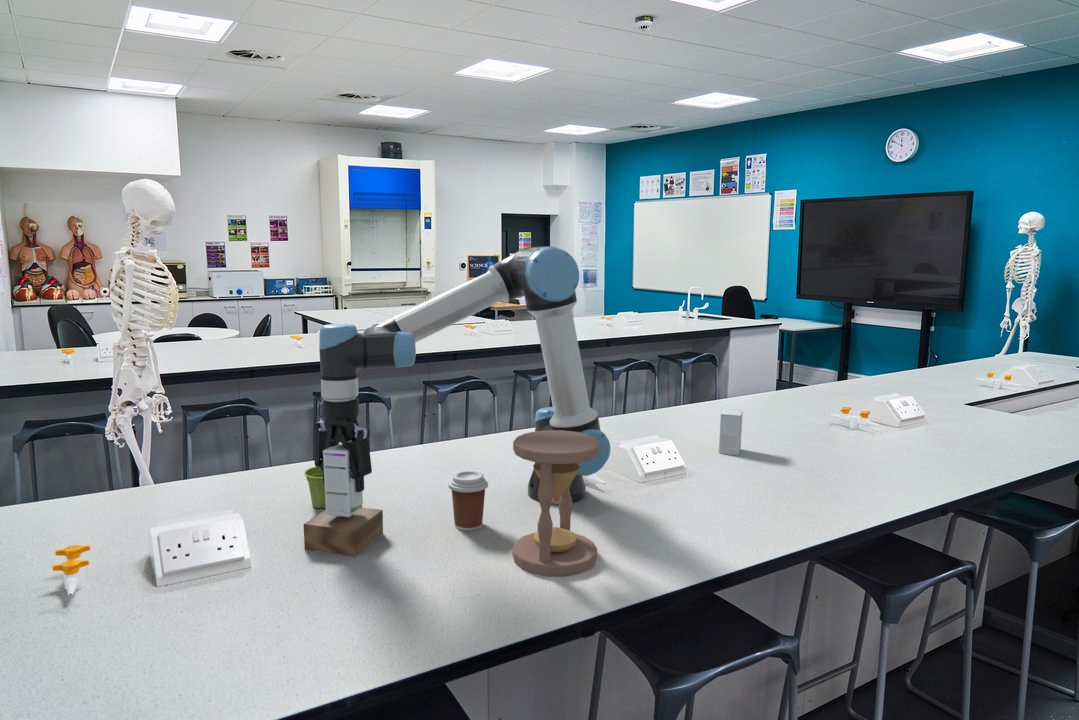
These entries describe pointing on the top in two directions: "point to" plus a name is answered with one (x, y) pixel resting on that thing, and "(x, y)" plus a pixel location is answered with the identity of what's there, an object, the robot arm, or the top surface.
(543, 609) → the top surface
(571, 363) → the robot arm
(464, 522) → the coffee cup
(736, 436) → the small box
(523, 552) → the hourglass
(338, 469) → the syrup box
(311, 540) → the base block
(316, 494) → the plant pot
